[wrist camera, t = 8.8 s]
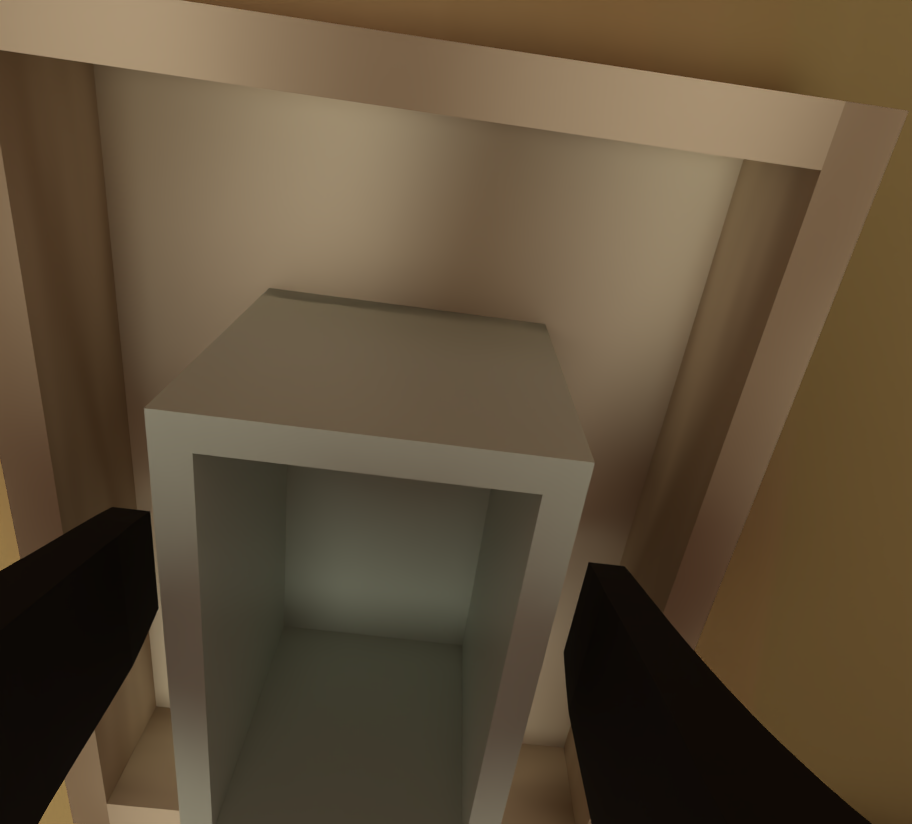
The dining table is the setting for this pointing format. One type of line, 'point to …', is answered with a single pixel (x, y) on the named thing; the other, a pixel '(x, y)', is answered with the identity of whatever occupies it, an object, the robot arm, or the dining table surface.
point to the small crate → (360, 558)
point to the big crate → (409, 279)
